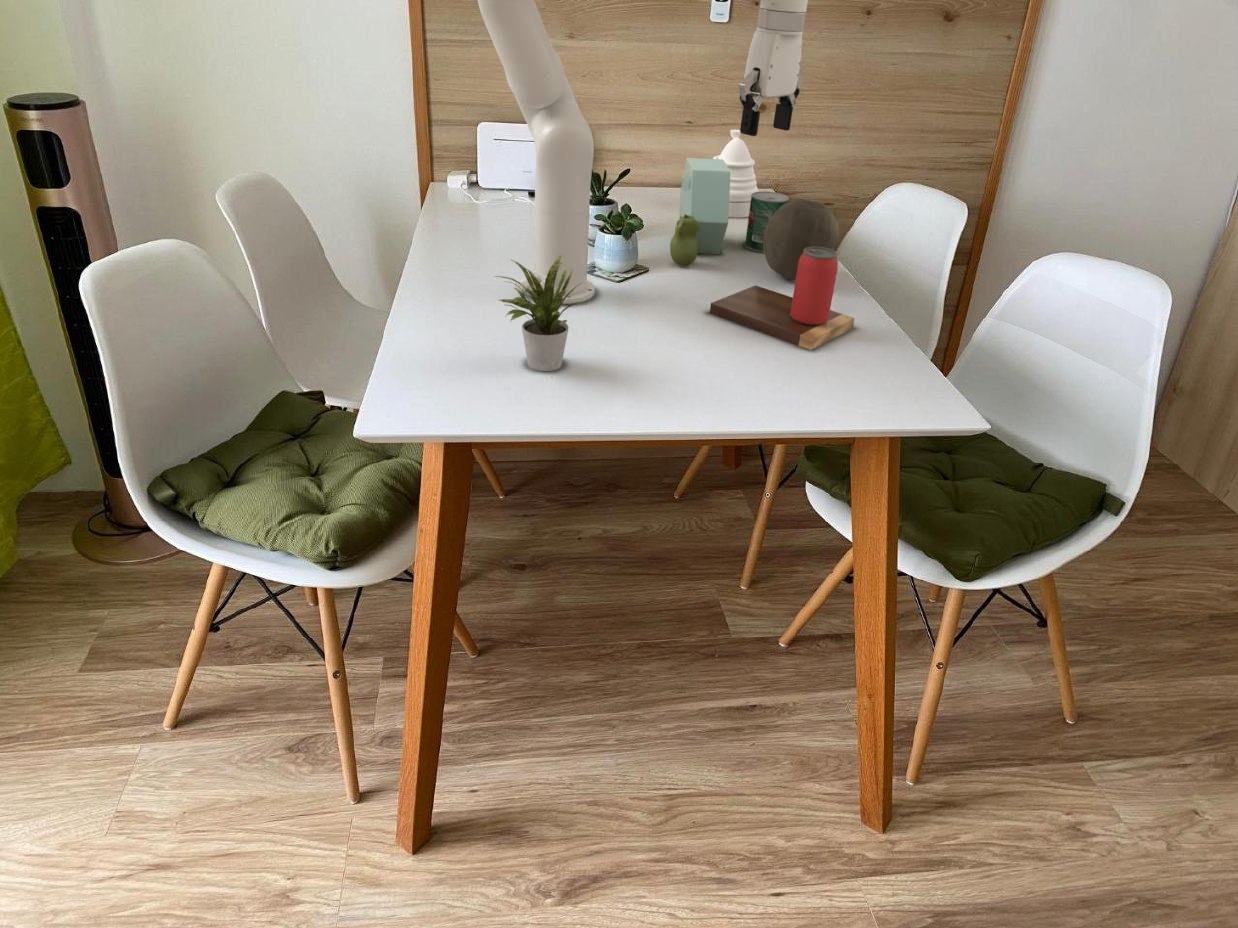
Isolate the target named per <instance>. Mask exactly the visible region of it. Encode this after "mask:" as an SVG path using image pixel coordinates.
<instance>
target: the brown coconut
mask: <svg viewBox="0 0 1238 928" xmlns="http://www.w3.org/2000/svg"><path fill="white" fill-rule="evenodd" d="M839 241H840V226H839V223H838V220H837V218H836V216H835V215H834V214H833V212H832V210H831V209H830V208H829V207H828V206H827V205H824V204H823V203H822V202H818V201H812V200H809V199H804V198H799V199H794V200H790V201H788V203H785V204H784V205H782V206H781V207H780V208H779V209H778V210H777V211H776V212H775V213H774V215H773V216H772V217H771V219H770V220H769V222H768V224H767V226H766V230H765V233H764V238H763V249H764V253H763V254H764V258H765V261H766V263H767V265H768V267H769V268H770V269H771V270H772V271H774V273H776V274H778V275H780V276H782V277H783V278H785V279H786V280H789V281H796V275H797V268H798V262H799V259H800V257H801V255H802V254H803V250H804V249H805V248H807V247H825V248H829V249H832V250H834V251H835V252H836V249H837V247H838V244H839Z"/></svg>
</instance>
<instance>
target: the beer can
mask: <svg viewBox="0 0 1238 928" xmlns="http://www.w3.org/2000/svg"><path fill="white" fill-rule="evenodd" d="M837 257H838V253H837V251H836V250H835V251H834V250H832V249H829V248H825V247H807V248H805V249H804V250H803V254H802V255H801V257H800V259H799V262H798V268H797V275H796V280H794V287H793V293H792V297H793V299H792V305H791V312H790V316H791V317H792V319H793V320H795V321H796V322H799V323H801V324H805V325H821V324H824V323H825V322H826V321H827V320H828V318H829V312H830V310H831V307H832V300H833V296H834V291H835V285H836V280H837V275H838V269H839V264H838V258H837Z"/></svg>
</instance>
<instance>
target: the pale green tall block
mask: <svg viewBox="0 0 1238 928" xmlns="http://www.w3.org/2000/svg"><path fill="white" fill-rule="evenodd" d="M729 194H730V170H729V168H728V167H727V165H726V163H725V162H724V160H723V159H713V158H701V157H686V159H685V164H684V170H683V175H682V181H681V187H680V197H679V217H680V216H681V217H684V215H685V214H686V215H690V216H693V217H694V219H695V220H697V222H698V225H699V230H698V232H697V233H696V238H697V242H698V253H697V254H710V255H711V254H713V255H720V254H721V251H722V248H723V245H724V244H723V243H724V241H725V237H726V233H727V229H728V226H729V217H728V215H729ZM678 220H680V218H679V219H678Z"/></svg>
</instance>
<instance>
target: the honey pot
mask: <svg viewBox="0 0 1238 928" xmlns="http://www.w3.org/2000/svg"><path fill="white" fill-rule="evenodd" d="M729 132H730V137H731V138H732V139H731V140H730V141H729V142H727V144H726V145H725V146H724V148H723V149H722V151H721V153H720V154H718V155H715V156H713V158H712V159H723V160H724V162H725V163H726V165H727V167H728V168H729V170H730V194H729V215H728V218H749V210H750V202H751V194H752V193H754V192H759V188H758V186H757V184H758V183H757V182H758V181H757V179H756V178H757V176H756V175H757V174H756V173H755V169H754V166H755V164H756V161H755V159H753V158H752V157H751V154H750V150H749V149H748V146H747V145H746V143H745V142H744V140H742V139H741V138H740V137H741V134H742V133H741V132H740V129H730V130H729Z"/></svg>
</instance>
